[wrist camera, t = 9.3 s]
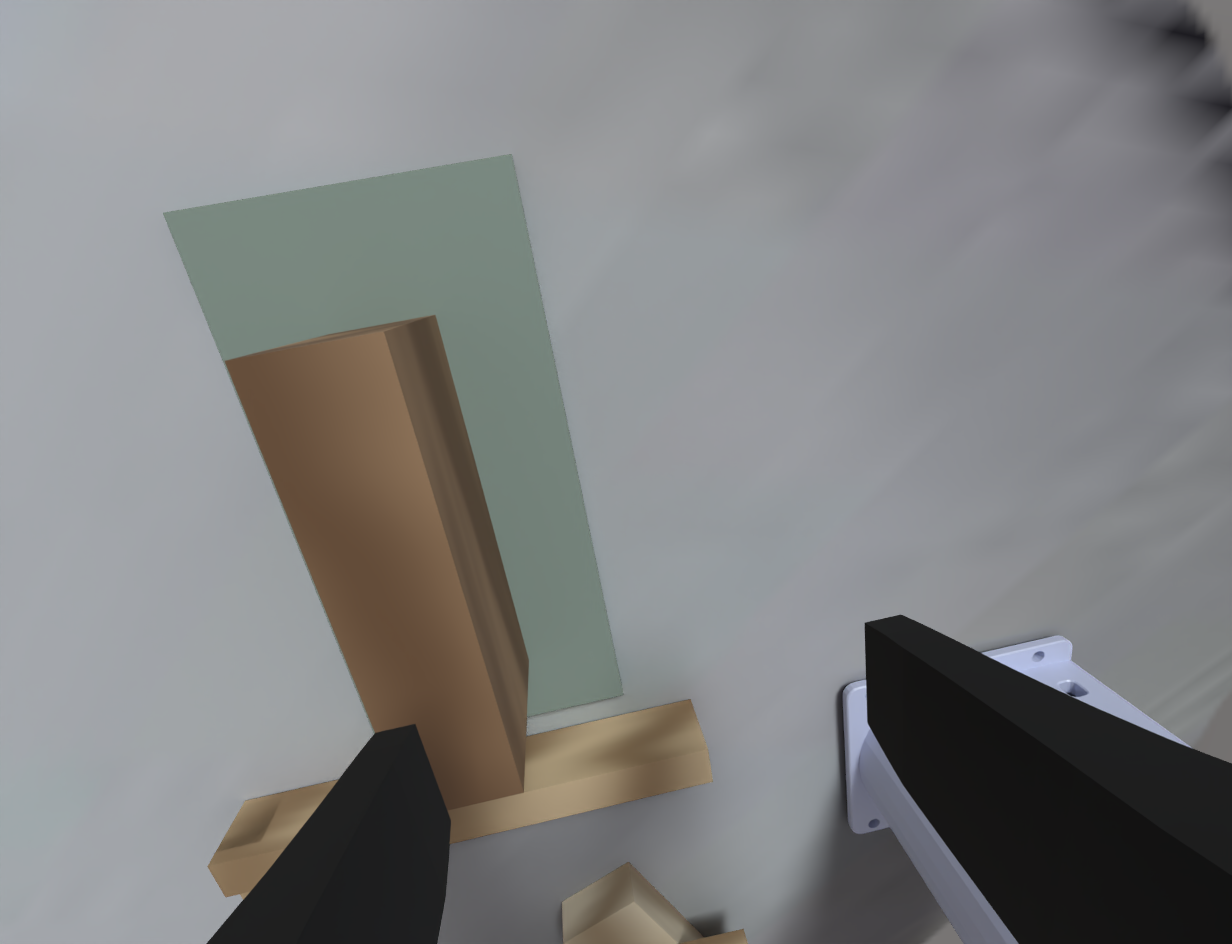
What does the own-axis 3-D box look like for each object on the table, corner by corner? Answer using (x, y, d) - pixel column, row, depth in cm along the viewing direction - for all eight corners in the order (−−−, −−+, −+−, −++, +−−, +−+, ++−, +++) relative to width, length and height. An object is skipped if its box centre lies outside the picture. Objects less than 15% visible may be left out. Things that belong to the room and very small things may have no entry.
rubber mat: (512, 157, 15) (511, 154, 15) (622, 687, 21) (623, 695, 21) (172, 215, 15) (162, 212, 14) (383, 741, 21) (380, 749, 21)
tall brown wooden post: (435, 314, 16) (384, 331, 11) (528, 660, 20) (524, 792, 15) (328, 334, 16) (224, 361, 11) (444, 679, 20) (409, 819, 15)
